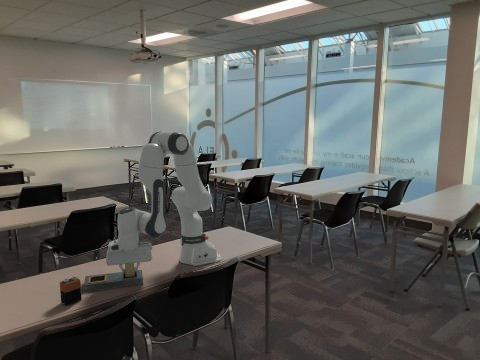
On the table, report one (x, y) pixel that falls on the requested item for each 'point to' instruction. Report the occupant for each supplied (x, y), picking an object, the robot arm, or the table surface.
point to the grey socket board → (111, 281)
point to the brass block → (129, 270)
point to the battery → (70, 290)
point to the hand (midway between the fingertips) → (129, 272)
